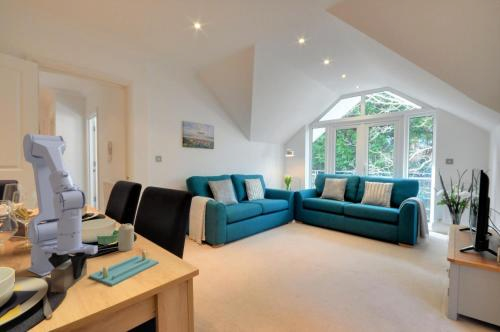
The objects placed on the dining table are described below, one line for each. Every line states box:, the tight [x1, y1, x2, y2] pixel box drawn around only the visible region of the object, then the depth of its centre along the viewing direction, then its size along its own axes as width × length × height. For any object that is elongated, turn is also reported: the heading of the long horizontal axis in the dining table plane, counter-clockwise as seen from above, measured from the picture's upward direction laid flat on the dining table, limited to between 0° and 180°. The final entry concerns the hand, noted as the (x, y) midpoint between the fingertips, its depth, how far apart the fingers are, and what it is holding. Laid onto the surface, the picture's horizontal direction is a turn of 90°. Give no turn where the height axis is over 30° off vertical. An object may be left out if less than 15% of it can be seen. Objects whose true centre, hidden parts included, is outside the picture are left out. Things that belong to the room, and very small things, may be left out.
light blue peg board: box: [88, 250, 159, 287], centre depth 78 cm, size 11×17×4 cm, turn 154°
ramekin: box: [96, 229, 118, 245], centre depth 102 cm, size 9×9×4 cm
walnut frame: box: [50, 258, 88, 294], centre depth 70 cm, size 4×10×6 cm, turn 4°
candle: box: [117, 223, 135, 252], centre depth 96 cm, size 6×6×10 cm
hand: (70, 278), depth 70 cm, fingers closed on walnut frame, 3 cm apart
